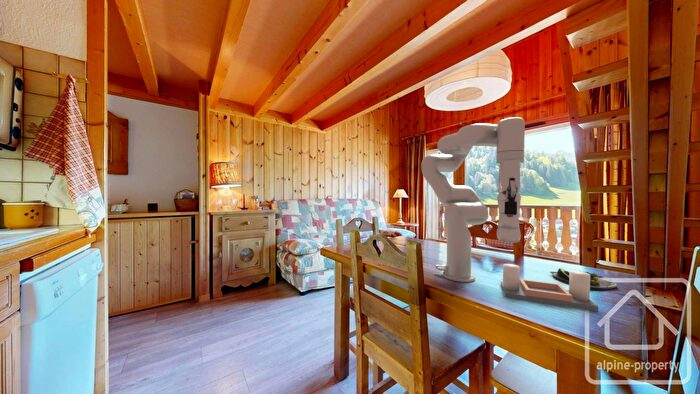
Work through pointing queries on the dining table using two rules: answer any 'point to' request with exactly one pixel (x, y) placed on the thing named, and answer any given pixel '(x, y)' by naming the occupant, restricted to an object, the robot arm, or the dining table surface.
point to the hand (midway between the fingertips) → (508, 213)
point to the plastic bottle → (508, 221)
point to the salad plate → (594, 280)
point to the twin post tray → (548, 289)
